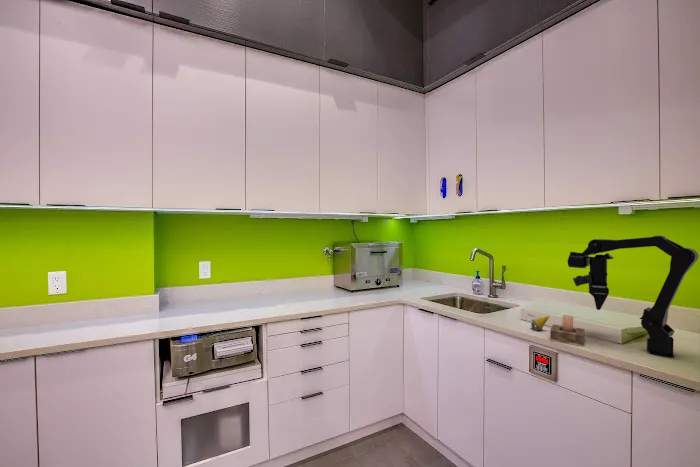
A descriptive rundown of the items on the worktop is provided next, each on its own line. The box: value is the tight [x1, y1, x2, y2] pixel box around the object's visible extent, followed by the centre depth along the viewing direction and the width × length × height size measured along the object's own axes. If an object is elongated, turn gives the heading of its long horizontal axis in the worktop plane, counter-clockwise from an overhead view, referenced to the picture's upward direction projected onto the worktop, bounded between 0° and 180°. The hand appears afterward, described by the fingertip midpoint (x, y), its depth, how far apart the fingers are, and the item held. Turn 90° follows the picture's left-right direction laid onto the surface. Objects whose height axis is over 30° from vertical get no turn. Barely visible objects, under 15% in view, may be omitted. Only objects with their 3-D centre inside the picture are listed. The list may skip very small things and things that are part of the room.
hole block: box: [549, 324, 586, 347], centre depth 133 cm, size 11×11×4 cm
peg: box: [561, 314, 574, 332], centre depth 133 cm, size 4×4×9 cm
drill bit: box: [530, 315, 551, 332], centre depth 145 cm, size 5×5×10 cm
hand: (598, 307), depth 134 cm, fingers open, 9 cm apart
